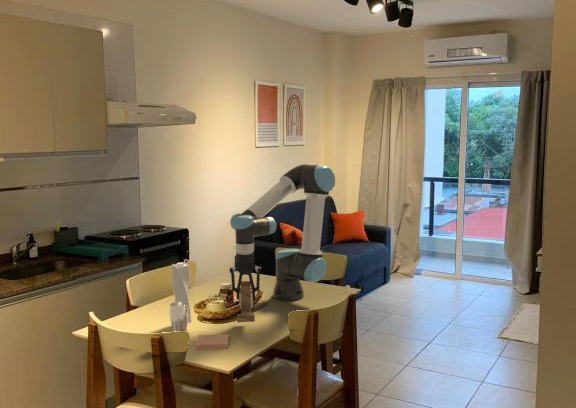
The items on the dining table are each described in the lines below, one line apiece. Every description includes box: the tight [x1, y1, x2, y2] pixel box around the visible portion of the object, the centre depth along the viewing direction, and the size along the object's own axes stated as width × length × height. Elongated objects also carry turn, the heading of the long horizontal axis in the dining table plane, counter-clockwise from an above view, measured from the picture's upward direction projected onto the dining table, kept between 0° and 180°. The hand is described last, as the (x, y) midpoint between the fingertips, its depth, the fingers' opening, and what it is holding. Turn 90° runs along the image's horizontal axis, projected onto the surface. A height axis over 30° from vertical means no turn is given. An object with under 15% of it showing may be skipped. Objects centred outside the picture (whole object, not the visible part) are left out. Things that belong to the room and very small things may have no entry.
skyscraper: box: [171, 258, 192, 326], centre depth 237 cm, size 8×8×28 cm
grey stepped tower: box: [236, 280, 256, 323], centre depth 231 cm, size 16×7×12 cm, turn 4°
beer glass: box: [169, 301, 188, 332], centre depth 219 cm, size 7×7×15 cm
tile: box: [195, 333, 230, 350], centre depth 217 cm, size 12×2×10 cm
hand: (246, 306), depth 237 cm, fingers closed on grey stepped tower, 4 cm apart
